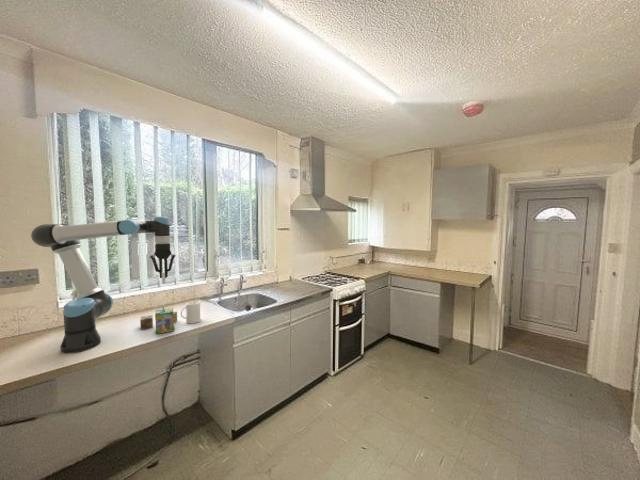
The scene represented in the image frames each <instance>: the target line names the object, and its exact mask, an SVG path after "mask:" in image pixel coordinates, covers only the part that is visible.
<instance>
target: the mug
mask: <svg viewBox="0 0 640 480" xmlns="http://www.w3.org/2000/svg"><path fill="white" fill-rule="evenodd" d="M184 310H185V312H186V313H185V315H186V316H183V311H184ZM180 316H181V317H182V319H185V320H186V322H185V323H186V324H196V323H199V322H200V321H201V301H199V300H191V301H188V302H186V303H185V306H184V307H183V308H182V309H181V311H180Z"/></svg>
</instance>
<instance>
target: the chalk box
mask: <svg viewBox="0 0 640 480" xmlns="http://www.w3.org/2000/svg"><path fill="white" fill-rule="evenodd" d="M173 312H174V307H173V308H164V305H163V304H162V306H161V309H156V310H155V315H154V316H155V317H154V318H155V334H156V335H159V334H164V333H168V332H174V331H175V323H174V316H173Z"/></svg>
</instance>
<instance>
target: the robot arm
mask: <svg viewBox="0 0 640 480" xmlns="http://www.w3.org/2000/svg"><path fill="white" fill-rule="evenodd" d="M170 225H171V224H170V217H168V216H154V217H153V219H131V218H129V219H124V220H114V221H113V220H112V221H103V222H93V223H92V222H91V223H83V224H82V223H81V224H66V223H47V224H46V223H45V224H40V225H37V226H35V227H34V229H33V230H32V231H31V233H30V237H31V241H33V243H34V244H36V245H37V246H40V247H42V248H43V247H44V248H50V249H51V251H52V253H55V254H58V256H59V258H60V259H61V261H62V264H63V266H64V268H65V270H66V272H67V274H68V276H69V277H70V280H71V282H72V284H73V286H74V288H75V289H76V292H77V294H78V295H77V298H76V299H74V300H73V299H72V300H70V301H69V302H67V303H65V304H64V305H63V311H62V315H63V326H64V327H63V329H64V336H63V337H62V338H63V339H62V342H61V344H60V352H61V353H63V354H73V353H74V354H75V353H80V352H85V351H87V350H91V349H93V348H95V347H97V346H99V345H100V344H101V342H102V341H101V340H102V339H101V338H102V337H101V336H100V333H99V332H98V330H97V327H96V325H97V324H96V319H98V318H99V317H101V316H103V315H105V314H107V313H108V312H109V311H110V310H111V309H112V307H113V306H114V300H113V297H112V296H111V295H110V294H108V293H106V292H105V290H104V289H103V288H100V287H99V286H98V285H97V284H98V283H97V282H96V280H95V279H94V276H93V273H92V272H91V270H90V267H89V265H88V263H87V262H86V259H85V257H84V256H83V253H82V252H81V249H80V248H81V246H82V243H81V241H82V240H87V239H89V240H90V239H91V240H92V239H98V238H107V237H108V238H109V237H117V236H125V235H126V236H127V235H137V234H154V243H155V244H154V253H153V254H152V255H150V256H149V258H150V259H151V261H152V264H153V266H154V267H153V268H154V270H155V272H156V273H159V278H160V279H161V284H162V285H165V284H167V283H166V282H167V281H166V280H167V278H168V277H169V274H168V272H170V271H172V267H173V263H174V259H175V257H176V256H177V255H176V254H174V253H172V251H171V233H170V231H171V230H170V229H171V228H170ZM169 257H170V260H169V261H170V262H169V265H168V259H169ZM156 258H157V259H158V263H157V260H156ZM163 264H164V271H163Z"/></svg>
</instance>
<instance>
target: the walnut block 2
mask: <svg viewBox="0 0 640 480" xmlns="http://www.w3.org/2000/svg"><path fill="white" fill-rule="evenodd" d="M173 316H174V324H175V323H176V322H178V312H177V311H173Z"/></svg>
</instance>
